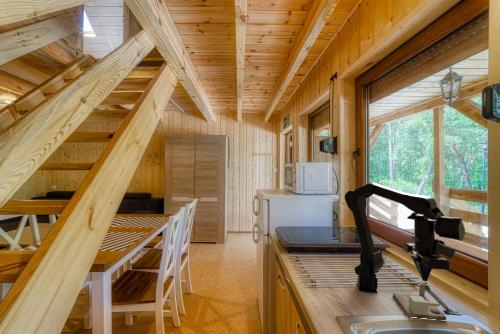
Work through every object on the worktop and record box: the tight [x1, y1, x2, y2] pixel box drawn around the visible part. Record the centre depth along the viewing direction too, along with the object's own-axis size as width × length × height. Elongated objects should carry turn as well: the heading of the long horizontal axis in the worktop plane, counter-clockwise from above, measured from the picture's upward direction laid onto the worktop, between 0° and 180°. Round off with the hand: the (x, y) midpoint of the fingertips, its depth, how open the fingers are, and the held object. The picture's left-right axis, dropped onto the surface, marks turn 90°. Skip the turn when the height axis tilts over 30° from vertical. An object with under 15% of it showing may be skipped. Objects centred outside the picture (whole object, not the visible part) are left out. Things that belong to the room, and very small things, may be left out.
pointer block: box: [409, 294, 441, 315], centre depth 85 cm, size 8×4×4 cm, turn 80°
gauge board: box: [392, 282, 447, 321], centre depth 90 cm, size 11×14×6 cm
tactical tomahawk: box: [424, 283, 462, 317], centre depth 96 cm, size 21×7×1 cm, turn 166°
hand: (424, 280), depth 88 cm, fingers closed
